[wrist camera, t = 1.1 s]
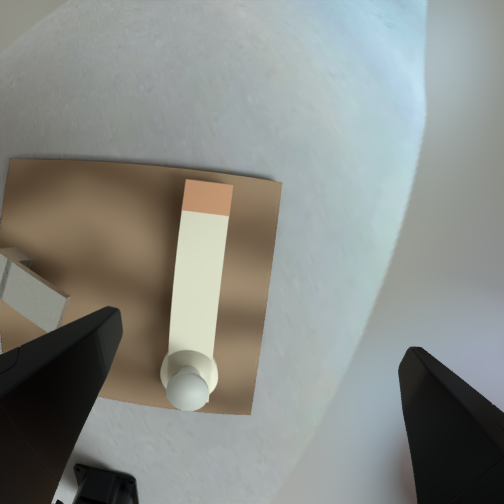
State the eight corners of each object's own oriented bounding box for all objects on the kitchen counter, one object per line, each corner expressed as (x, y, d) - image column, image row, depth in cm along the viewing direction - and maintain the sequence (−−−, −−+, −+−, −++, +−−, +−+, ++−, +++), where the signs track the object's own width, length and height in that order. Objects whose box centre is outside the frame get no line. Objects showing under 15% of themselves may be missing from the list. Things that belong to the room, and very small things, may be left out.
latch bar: (214, 393, 22) (217, 422, 18) (162, 387, 21) (154, 415, 17) (238, 189, 21) (245, 179, 17) (180, 182, 21) (174, 170, 17)
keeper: (71, 324, 20) (53, 336, 17) (6, 280, 19) (-16, 286, 16) (83, 290, 20) (66, 298, 17) (16, 246, 19) (-6, 248, 16)
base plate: (248, 409, 24) (250, 415, 23) (10, 365, 20) (4, 369, 19) (279, 184, 23) (282, 182, 22) (16, 161, 20) (10, 158, 19)
